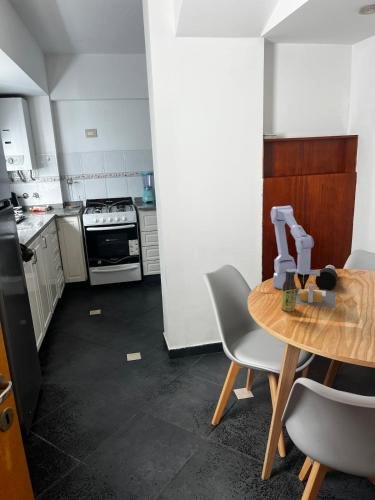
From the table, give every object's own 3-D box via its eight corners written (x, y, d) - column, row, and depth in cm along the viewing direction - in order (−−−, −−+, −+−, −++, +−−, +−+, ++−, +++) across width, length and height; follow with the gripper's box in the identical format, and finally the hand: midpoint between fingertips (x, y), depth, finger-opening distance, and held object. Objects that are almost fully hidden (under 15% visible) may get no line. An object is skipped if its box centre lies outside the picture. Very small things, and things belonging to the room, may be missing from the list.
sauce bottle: (285, 315, 164) (286, 273, 159) (278, 310, 170) (279, 269, 165) (298, 313, 166) (299, 271, 160) (291, 308, 171) (292, 267, 166)
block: (299, 300, 176) (299, 292, 175) (300, 297, 179) (300, 289, 178) (321, 302, 172) (322, 294, 171) (322, 299, 176) (322, 291, 175)
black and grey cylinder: (334, 280, 218) (343, 265, 214) (329, 294, 187) (340, 278, 184) (318, 271, 221) (327, 256, 217) (311, 283, 190) (321, 267, 187)
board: (294, 306, 173) (294, 303, 173) (298, 291, 191) (298, 288, 191) (335, 310, 167) (335, 307, 166) (335, 294, 185) (335, 291, 184)
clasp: (308, 302, 172) (308, 288, 170) (309, 295, 180) (309, 281, 178) (312, 303, 171) (313, 288, 169) (313, 296, 179) (314, 282, 177)
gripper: (287, 263, 171) (286, 290, 175) (320, 265, 166) (318, 293, 169) (288, 258, 178) (288, 285, 181) (320, 260, 172) (319, 287, 176)
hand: (302, 288), depth 176 cm, fingers closed
